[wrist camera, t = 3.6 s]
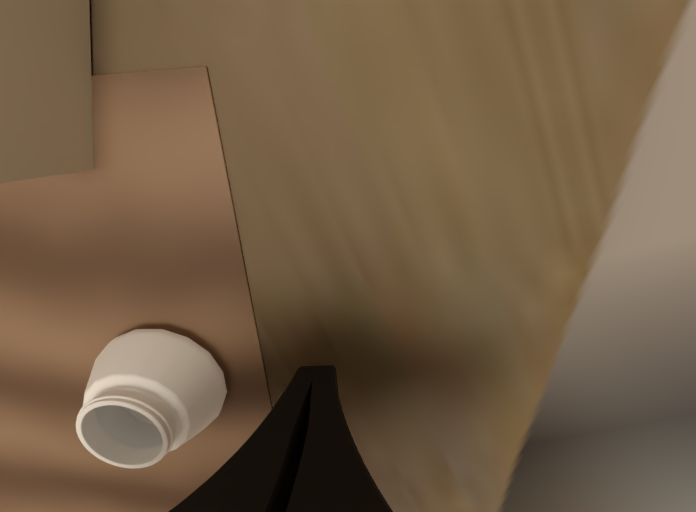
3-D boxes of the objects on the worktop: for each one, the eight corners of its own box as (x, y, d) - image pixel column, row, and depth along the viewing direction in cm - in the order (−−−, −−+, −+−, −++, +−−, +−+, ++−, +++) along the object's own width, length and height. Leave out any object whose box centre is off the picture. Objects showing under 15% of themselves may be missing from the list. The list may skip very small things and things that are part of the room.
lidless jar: (219, 322, 13) (92, 323, 13) (180, 375, 10) (19, 376, 10) (237, 420, 14) (126, 420, 15) (209, 489, 12) (72, 488, 12)
